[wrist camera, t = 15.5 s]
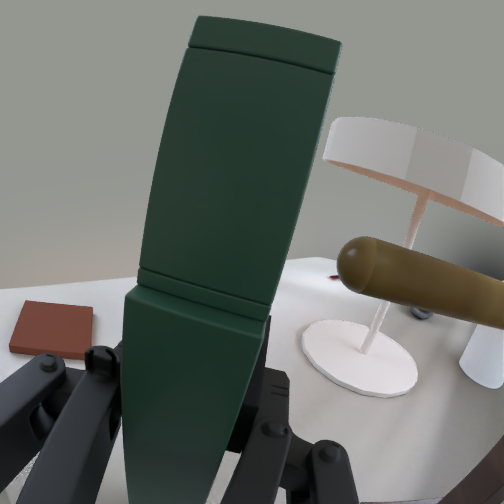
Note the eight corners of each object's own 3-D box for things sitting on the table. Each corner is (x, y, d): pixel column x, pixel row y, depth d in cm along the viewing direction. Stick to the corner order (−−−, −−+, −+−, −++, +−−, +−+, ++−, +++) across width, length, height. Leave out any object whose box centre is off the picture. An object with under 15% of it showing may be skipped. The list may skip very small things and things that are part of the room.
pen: (326, 277, 78) (327, 274, 78) (356, 274, 86) (357, 272, 86) (332, 280, 76) (333, 278, 76) (361, 277, 85) (362, 275, 85)
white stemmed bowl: (290, 425, 29) (404, 105, 20) (259, 298, 57) (306, 124, 48) (470, 412, 34) (563, 212, 25) (393, 319, 62) (443, 177, 53)
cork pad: (9, 352, 26) (8, 345, 25) (26, 306, 34) (25, 300, 34) (90, 360, 30) (90, 353, 30) (92, 312, 39) (92, 306, 38)
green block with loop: (136, 548, 12) (187, 2, 4) (160, 486, 18) (237, 76, 10) (181, 562, 12) (349, 29, 4) (200, 498, 17) (318, 95, 10)
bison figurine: (426, 325, 62) (444, 285, 59) (401, 312, 67) (418, 272, 64) (436, 313, 71) (451, 278, 68) (414, 302, 76) (428, 267, 73)
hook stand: (197, 594, 10) (470, 142, 3) (221, 492, 20) (339, 155, 12) (456, 578, 9) (677, 332, 2) (438, 503, 19) (593, 275, 12)
